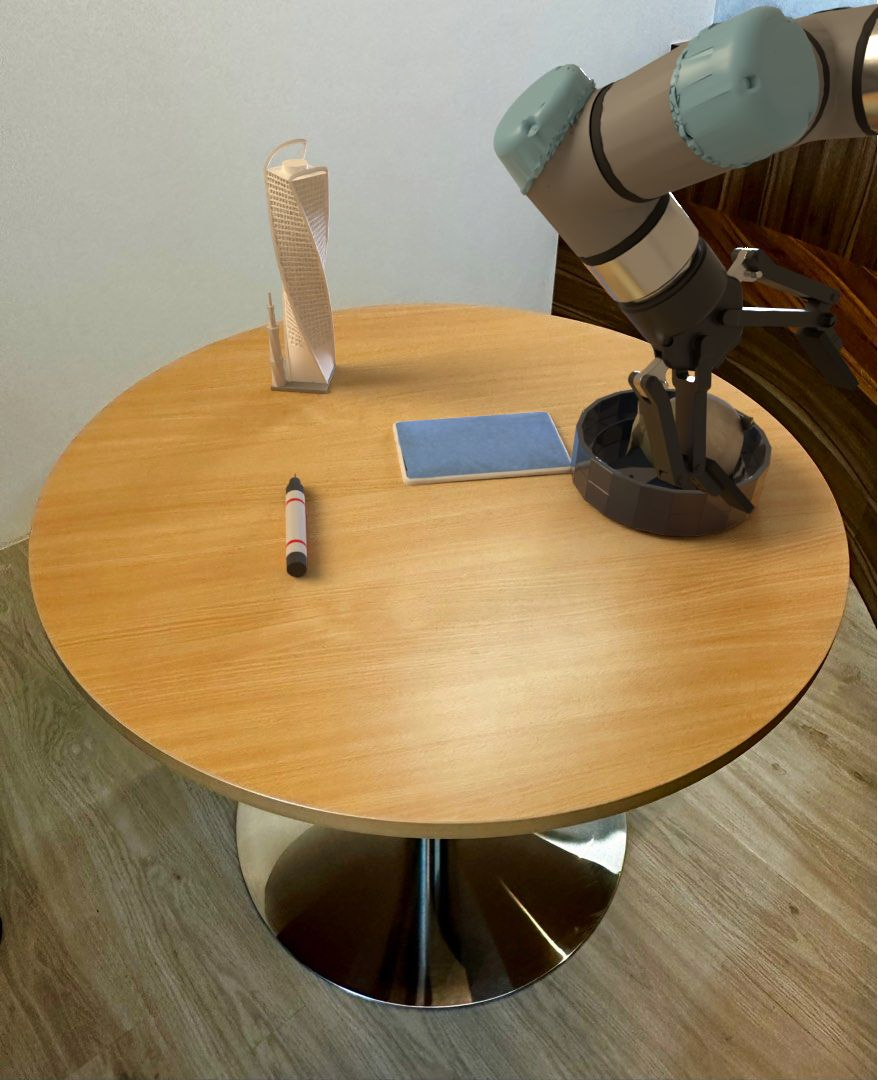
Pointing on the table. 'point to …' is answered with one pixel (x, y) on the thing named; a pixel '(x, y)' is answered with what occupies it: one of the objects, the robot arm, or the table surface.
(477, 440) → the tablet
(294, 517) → the marker
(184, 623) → the table surface
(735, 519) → the dark grey dish
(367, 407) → the table surface
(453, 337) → the table surface
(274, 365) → the skyscraper
